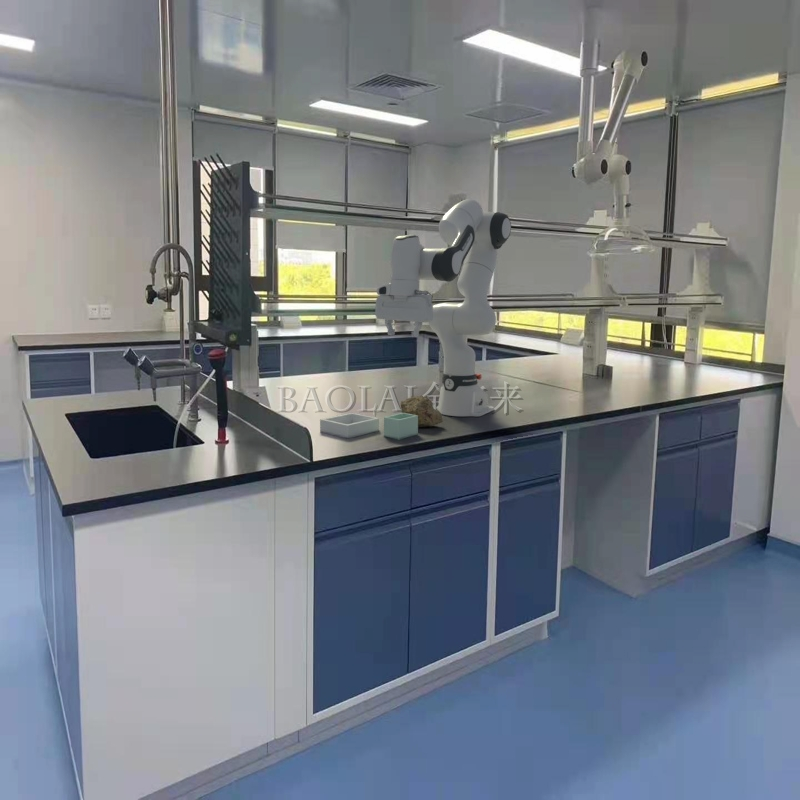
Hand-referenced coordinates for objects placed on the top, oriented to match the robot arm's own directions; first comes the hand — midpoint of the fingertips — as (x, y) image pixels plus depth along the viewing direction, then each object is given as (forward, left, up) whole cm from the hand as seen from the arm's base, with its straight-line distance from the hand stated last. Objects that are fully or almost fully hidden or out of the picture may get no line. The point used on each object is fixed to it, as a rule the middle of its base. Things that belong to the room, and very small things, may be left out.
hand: (402, 336), depth 202 cm
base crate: (+10, -13, -30) cm, 34 cm away
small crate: (+3, +2, -30) cm, 30 cm away
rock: (-12, -3, -30) cm, 33 cm away
